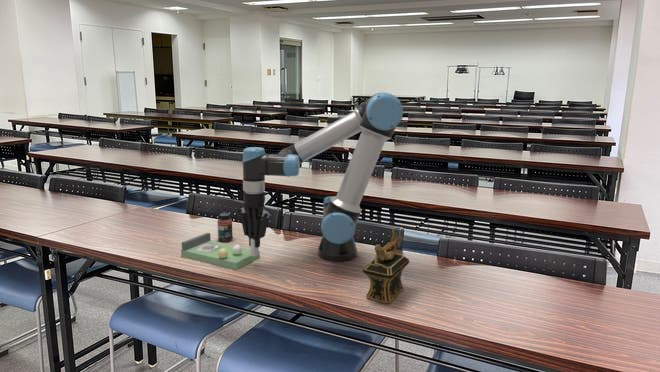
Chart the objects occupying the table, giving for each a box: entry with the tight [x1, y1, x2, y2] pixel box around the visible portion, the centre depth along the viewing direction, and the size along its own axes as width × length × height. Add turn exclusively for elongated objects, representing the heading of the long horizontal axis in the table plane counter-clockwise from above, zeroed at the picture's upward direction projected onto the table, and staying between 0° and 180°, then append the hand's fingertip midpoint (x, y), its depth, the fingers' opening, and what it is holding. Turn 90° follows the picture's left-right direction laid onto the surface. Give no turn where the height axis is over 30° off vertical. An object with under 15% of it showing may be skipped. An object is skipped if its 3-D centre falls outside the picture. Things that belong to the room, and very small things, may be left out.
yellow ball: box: [218, 248, 228, 258], centre depth 168 cm, size 4×4×4 cm
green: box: [180, 232, 261, 271], centre depth 176 cm, size 26×14×6 cm, turn 63°
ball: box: [232, 244, 242, 255], centre depth 172 cm, size 4×4×4 cm
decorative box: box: [362, 228, 410, 304], centre depth 148 cm, size 20×10×20 cm, turn 151°
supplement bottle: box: [217, 212, 234, 243], centre depth 194 cm, size 6×6×11 cm
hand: (254, 255), depth 169 cm, fingers closed
